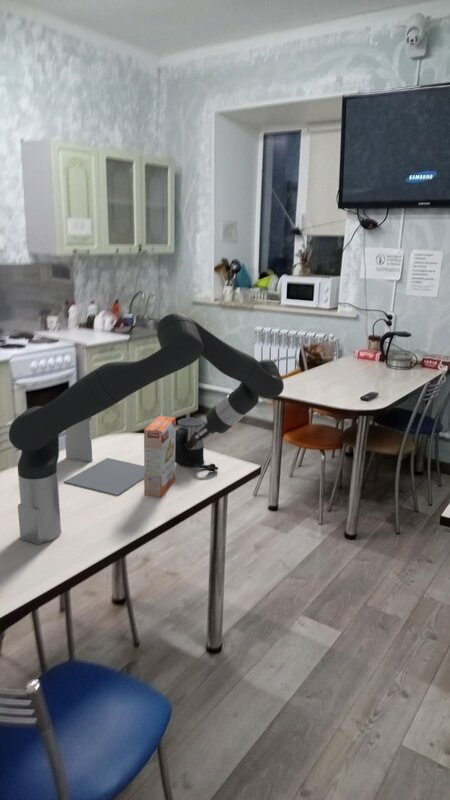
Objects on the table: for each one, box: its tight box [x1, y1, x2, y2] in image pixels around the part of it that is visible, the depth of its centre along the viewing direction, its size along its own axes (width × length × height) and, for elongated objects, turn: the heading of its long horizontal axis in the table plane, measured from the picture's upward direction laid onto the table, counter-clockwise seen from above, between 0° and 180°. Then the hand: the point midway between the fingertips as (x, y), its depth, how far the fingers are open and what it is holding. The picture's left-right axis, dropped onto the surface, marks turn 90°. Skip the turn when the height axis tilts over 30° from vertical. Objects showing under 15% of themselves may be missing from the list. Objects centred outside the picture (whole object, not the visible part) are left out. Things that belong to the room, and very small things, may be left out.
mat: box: [63, 457, 144, 497], centre depth 181 cm, size 22×20×1 cm
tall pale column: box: [64, 417, 93, 463], centre depth 190 cm, size 11×4×22 cm, turn 75°
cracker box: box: [143, 415, 177, 498], centre depth 170 cm, size 14×6×21 cm, turn 168°
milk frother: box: [175, 417, 219, 473], centre depth 188 cm, size 14×16×15 cm
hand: (187, 446), depth 166 cm, fingers closed
